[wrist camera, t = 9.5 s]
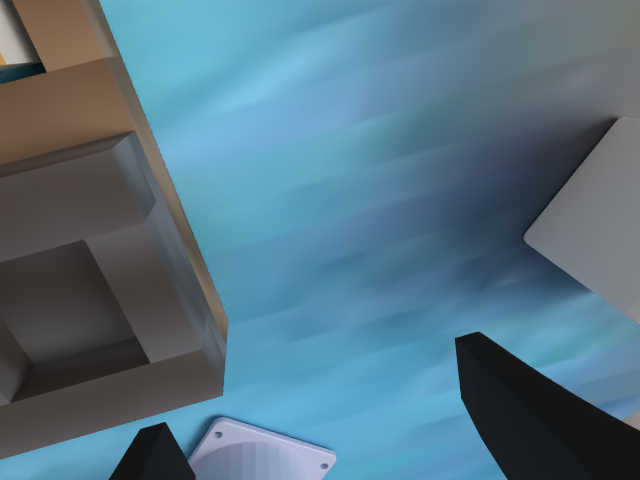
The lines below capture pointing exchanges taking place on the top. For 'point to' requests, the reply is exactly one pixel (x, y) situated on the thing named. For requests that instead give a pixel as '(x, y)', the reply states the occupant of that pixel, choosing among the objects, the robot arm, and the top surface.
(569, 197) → the medicine bottle
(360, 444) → the top surface
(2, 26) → the plug
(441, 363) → the top surface
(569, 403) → the robot arm
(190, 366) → the wooden base
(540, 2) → the top surface
